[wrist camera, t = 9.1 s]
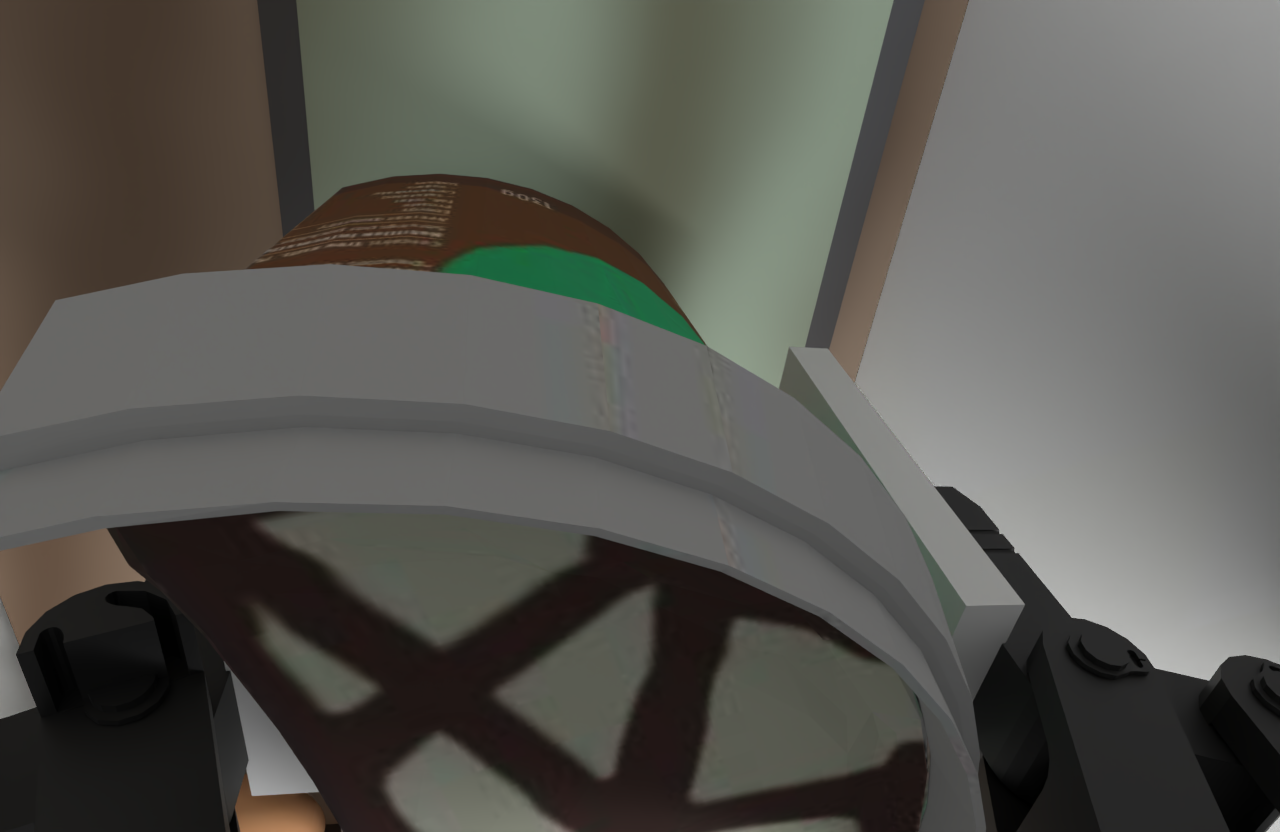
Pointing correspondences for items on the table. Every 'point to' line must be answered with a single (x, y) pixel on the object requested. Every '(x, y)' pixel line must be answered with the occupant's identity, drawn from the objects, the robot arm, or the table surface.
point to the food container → (501, 530)
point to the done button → (278, 812)
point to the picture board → (463, 154)
